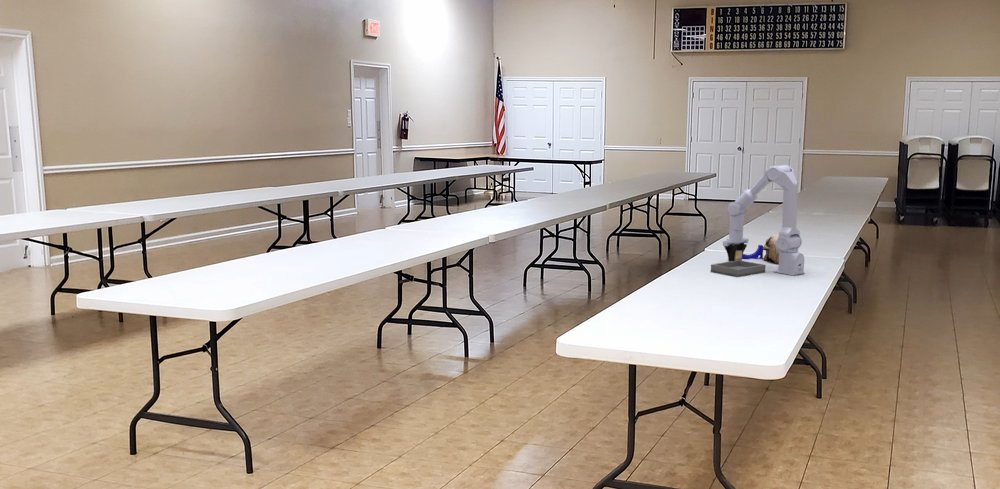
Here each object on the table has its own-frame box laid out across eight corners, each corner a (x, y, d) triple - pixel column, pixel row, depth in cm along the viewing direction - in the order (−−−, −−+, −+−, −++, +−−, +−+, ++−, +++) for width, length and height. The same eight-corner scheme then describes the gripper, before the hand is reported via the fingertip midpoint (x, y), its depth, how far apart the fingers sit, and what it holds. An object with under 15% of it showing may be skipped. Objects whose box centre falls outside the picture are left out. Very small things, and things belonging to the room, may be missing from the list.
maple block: (741, 264, 362) (742, 250, 361) (735, 265, 360) (736, 251, 359) (733, 263, 366) (734, 249, 365) (728, 264, 363) (728, 250, 362)
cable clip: (735, 259, 375) (736, 246, 374) (734, 257, 380) (734, 244, 379) (763, 259, 374) (764, 246, 373) (761, 258, 379) (761, 245, 378)
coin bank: (771, 256, 381) (774, 227, 378) (805, 265, 369) (809, 236, 365) (750, 261, 372) (754, 232, 368) (785, 271, 359) (789, 241, 355)
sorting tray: (765, 272, 345) (765, 264, 345) (737, 277, 335) (738, 269, 335) (738, 267, 356) (738, 260, 356) (710, 271, 346) (711, 264, 345)
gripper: (739, 227, 368) (738, 257, 370) (717, 230, 359) (716, 261, 362) (752, 229, 362) (751, 260, 364) (731, 232, 354) (729, 263, 356)
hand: (734, 261), depth 363 cm, fingers closed on maple block, 4 cm apart
